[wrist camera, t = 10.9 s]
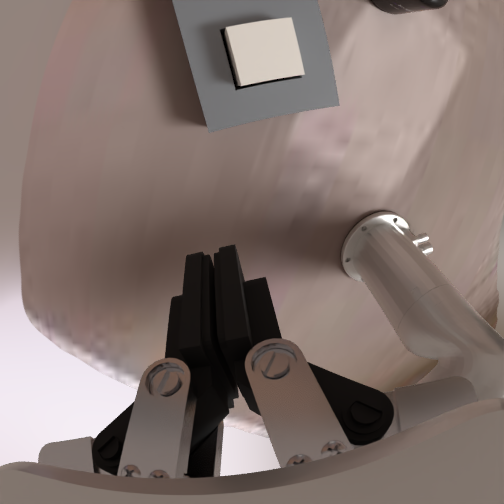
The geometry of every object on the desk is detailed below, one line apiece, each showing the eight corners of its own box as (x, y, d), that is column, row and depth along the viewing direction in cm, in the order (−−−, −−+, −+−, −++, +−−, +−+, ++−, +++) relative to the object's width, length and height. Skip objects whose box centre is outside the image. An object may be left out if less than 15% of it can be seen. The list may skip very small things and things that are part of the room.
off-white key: (279, 26, 24) (291, 17, 19) (290, 75, 27) (304, 74, 23) (223, 35, 24) (226, 27, 20) (236, 85, 27) (241, 86, 23)
